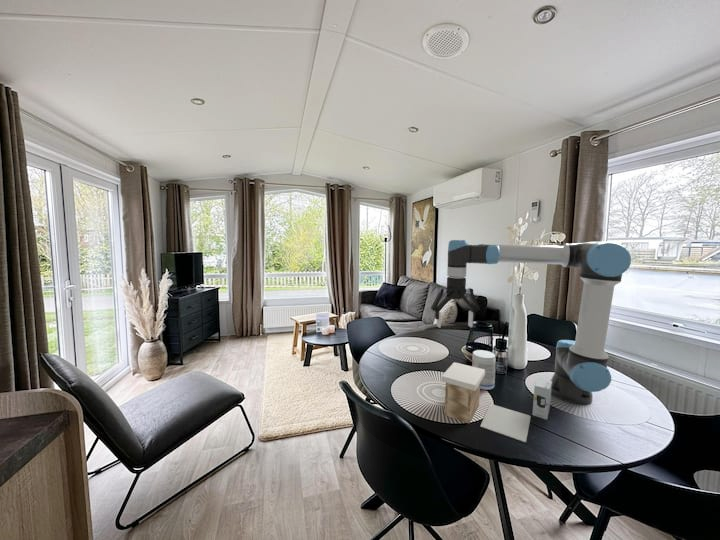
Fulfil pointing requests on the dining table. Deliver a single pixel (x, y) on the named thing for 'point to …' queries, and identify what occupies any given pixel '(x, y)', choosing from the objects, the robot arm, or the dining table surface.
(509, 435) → the mat
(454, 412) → the box
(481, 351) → the supplement tub
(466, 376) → the lid
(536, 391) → the ink box
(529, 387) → the dining table surface
